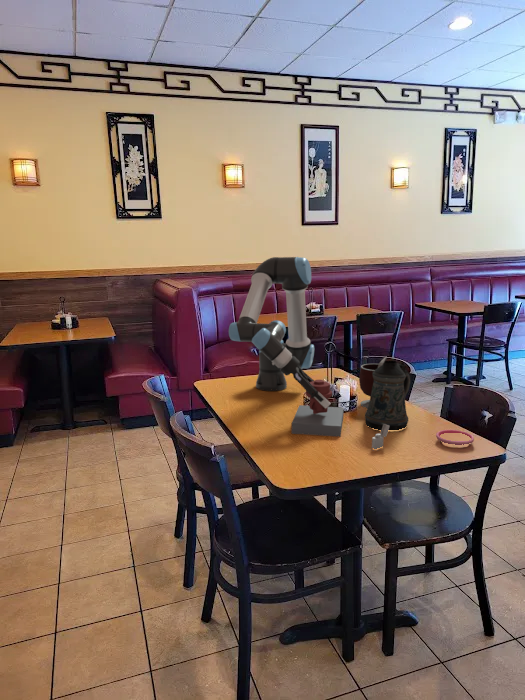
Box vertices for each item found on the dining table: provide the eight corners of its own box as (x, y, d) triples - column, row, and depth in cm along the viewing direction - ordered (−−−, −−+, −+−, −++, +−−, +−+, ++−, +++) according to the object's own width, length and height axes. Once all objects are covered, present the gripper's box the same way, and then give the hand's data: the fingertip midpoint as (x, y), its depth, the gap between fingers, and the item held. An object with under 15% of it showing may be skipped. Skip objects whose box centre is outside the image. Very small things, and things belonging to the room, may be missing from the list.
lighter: (375, 451, 174) (376, 428, 173) (371, 449, 176) (372, 427, 174) (388, 446, 179) (389, 424, 177) (385, 444, 180) (385, 422, 178)
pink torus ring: (428, 440, 184) (428, 432, 183) (455, 435, 189) (455, 427, 188) (453, 453, 173) (454, 444, 172) (481, 447, 177) (482, 438, 177)
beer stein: (359, 428, 195) (361, 364, 190) (371, 413, 213) (373, 354, 208) (403, 435, 188) (407, 369, 183) (412, 419, 206) (416, 358, 201)
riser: (299, 414, 212) (299, 405, 211) (343, 417, 209) (343, 407, 208) (291, 433, 191) (291, 423, 190) (340, 436, 188) (340, 426, 187)
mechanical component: (305, 407, 204) (331, 407, 203) (305, 415, 194) (332, 416, 193) (306, 377, 202) (331, 377, 201) (305, 384, 192) (332, 384, 191)
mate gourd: (381, 412, 214) (383, 365, 210) (352, 405, 223) (353, 361, 219) (398, 403, 226) (400, 359, 222) (370, 397, 234) (371, 354, 230)
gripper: (278, 362, 207) (317, 399, 210) (279, 376, 185) (322, 418, 187) (292, 349, 206) (330, 387, 208) (294, 361, 183) (337, 404, 186)
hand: (326, 401), depth 198 cm, fingers closed on mechanical component, 10 cm apart
